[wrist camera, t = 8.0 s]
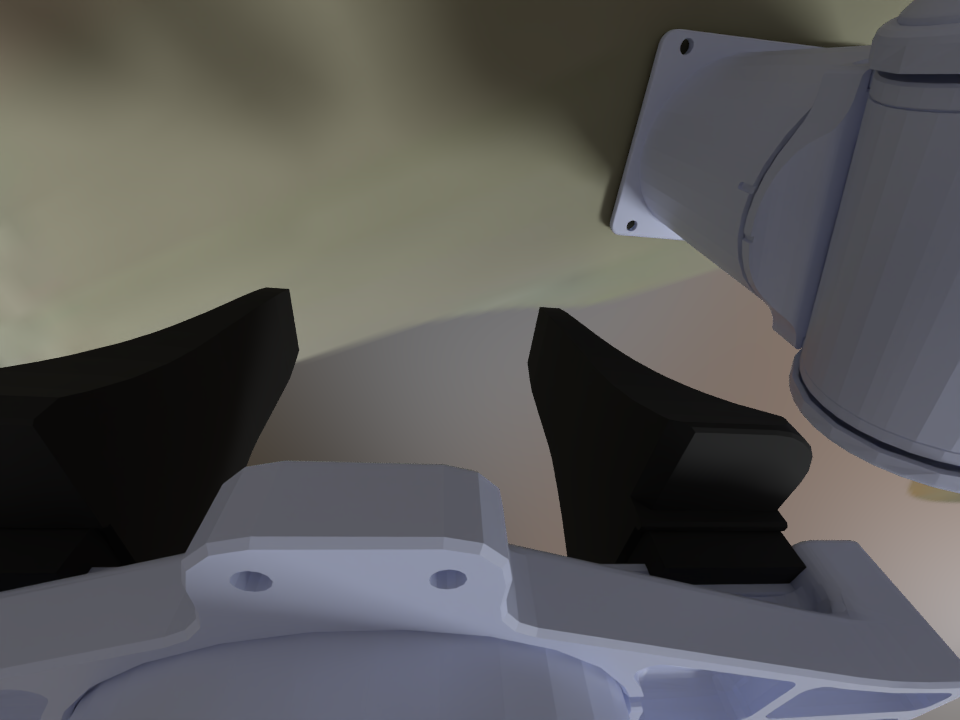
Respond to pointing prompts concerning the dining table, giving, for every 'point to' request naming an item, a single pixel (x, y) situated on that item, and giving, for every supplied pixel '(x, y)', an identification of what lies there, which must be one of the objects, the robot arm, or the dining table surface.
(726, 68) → the robot arm
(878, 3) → the dining table surface
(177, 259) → the dining table surface
